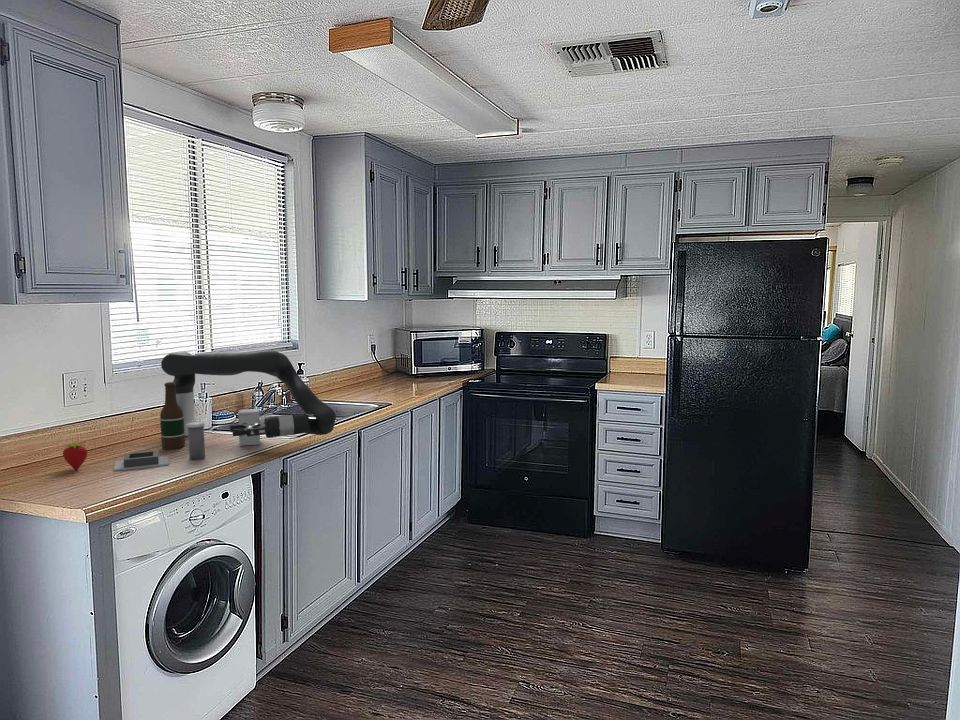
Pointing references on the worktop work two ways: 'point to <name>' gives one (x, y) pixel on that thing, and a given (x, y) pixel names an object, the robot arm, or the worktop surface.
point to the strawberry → (75, 455)
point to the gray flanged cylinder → (196, 440)
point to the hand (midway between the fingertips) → (231, 430)
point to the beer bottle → (172, 420)
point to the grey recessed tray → (141, 461)
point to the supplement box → (246, 417)
